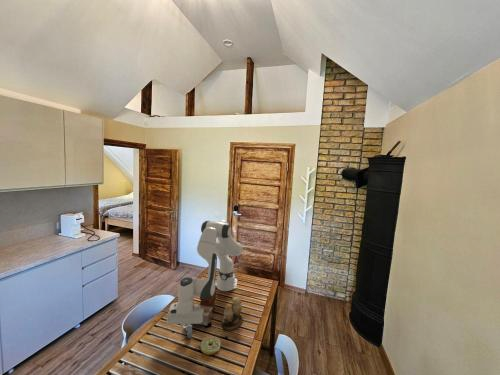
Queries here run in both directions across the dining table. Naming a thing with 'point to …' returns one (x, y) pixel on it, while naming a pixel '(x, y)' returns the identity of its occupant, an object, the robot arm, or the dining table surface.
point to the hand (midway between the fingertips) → (184, 329)
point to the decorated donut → (210, 345)
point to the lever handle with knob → (189, 332)
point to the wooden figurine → (209, 301)
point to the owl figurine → (232, 315)
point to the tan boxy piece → (205, 314)
